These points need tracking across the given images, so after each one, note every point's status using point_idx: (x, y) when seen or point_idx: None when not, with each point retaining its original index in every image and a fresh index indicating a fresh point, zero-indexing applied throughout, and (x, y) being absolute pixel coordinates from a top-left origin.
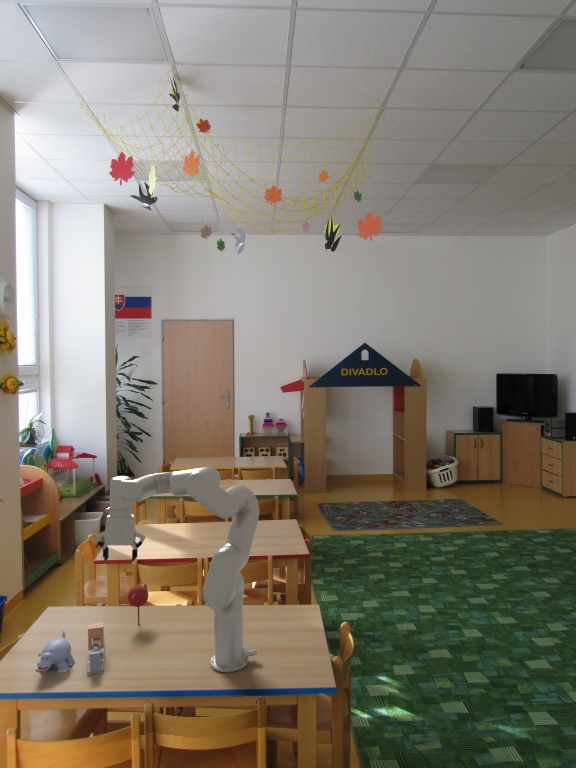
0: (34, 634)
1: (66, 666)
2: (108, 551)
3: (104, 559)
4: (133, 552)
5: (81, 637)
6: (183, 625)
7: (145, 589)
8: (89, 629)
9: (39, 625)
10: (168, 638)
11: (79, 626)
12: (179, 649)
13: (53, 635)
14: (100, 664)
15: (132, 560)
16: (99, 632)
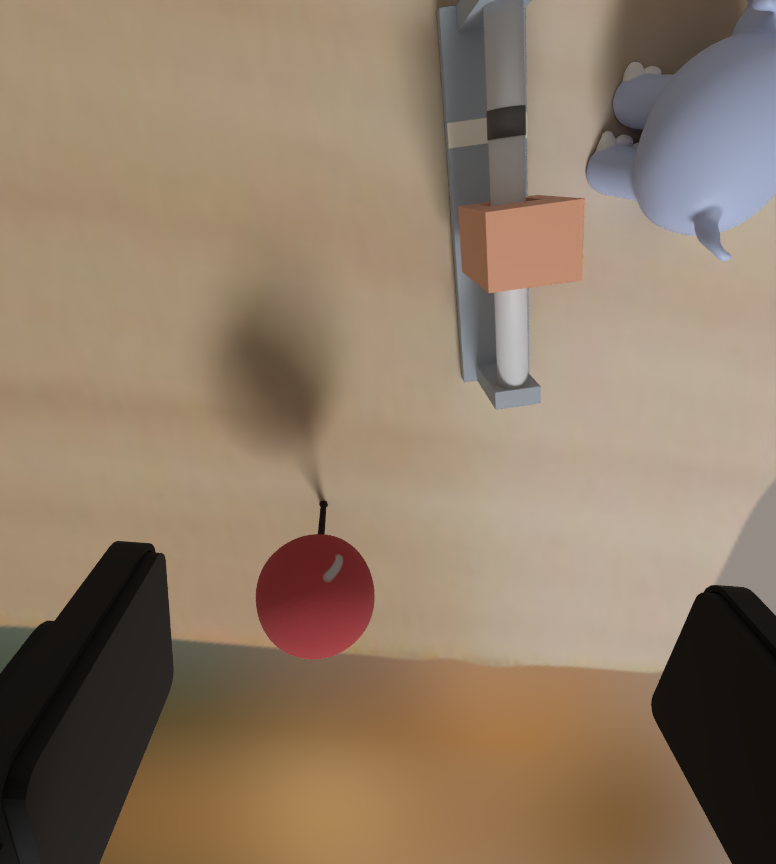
0: (753, 475)
1: (635, 87)
2: (720, 832)
3: (756, 598)
4: (11, 709)
5: (564, 421)
6: (107, 467)
7: (265, 618)
8: (572, 199)
9: (730, 544)
10: (152, 349)
11: (576, 517)
12: (61, 216)
13: (679, 456)
14: (459, 81)
15: (151, 551)
16: (501, 207)
